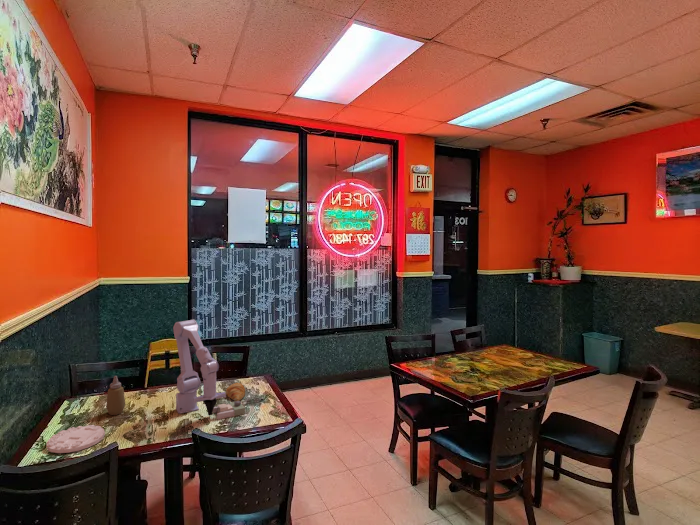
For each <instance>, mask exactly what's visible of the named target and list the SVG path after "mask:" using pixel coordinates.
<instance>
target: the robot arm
mask: <svg viewBox="0 0 700 525" xmlns="http://www.w3.org/2000/svg"><path fill="white" fill-rule="evenodd" d="M172 328H173V334H174V339H175V340H176V347H177V352H178V357H179V358H178V359H179V365H180V370H181V373H180V374H179V375H178V376H177V378H176V381H177V384H176V388H177V391H178V392H177V393H176V394H175V409H176V412H177V413H178V414H184V413H189V412H193V411H194V412H195V411H199V410H200V408H199V406H198V405H197V404H198V403H199V402H203V403H204V405H205V407H206V408H205V409H206V411H207V415H208V416H210V417H211V416H212V415H213V408H214V407H216V405H217V401H218V400H217V399H220V398H227V395H226V391H223V392H217V372H218V371H219V368H220V365H219V362H218V360H216V359H215V358H214V357H213V356H212V355H211V353H210V351H209V349H208V347H206V346H204V344H203V342H202V340H201V337H200V334H199V332H198V331H199V324H198V322H197V321H196V319H193V318H192V319H190V320H183V321H176V322H175V323H174V325H173V327H172ZM189 340H190V342H191V343H192V345H193V347H194V349H195V350H196V351H195V356H196V357H197V359H198V362H199V363H200V373H201V377H202V379H203V383H202V382H201V379H200V377H199V373H198V372H196V371H195V370H194V369H193V364H192V358H191V352H190V345H189ZM201 383H202V384H203V392H202V395H199V396H198V395H197V393H198V392H197V391H198V390H199V388H200V386H201Z"/></svg>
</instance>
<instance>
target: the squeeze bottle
mask: <svg viewBox="0 0 700 525" xmlns="http://www.w3.org/2000/svg"><path fill="white" fill-rule="evenodd" d="M125 405H126V398H125V390H124V387H123V386H122V382H120V381H119V379H118V376H117V375H114V376H113V380H112V382H111V383H110V384H109V388H108V390H107V395H106V405H105V406H106V407H105V409H106V410H107V412H108V414H109V415H110V416H116V415H120V414H122V413H123V412H124V410H125Z"/></svg>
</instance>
